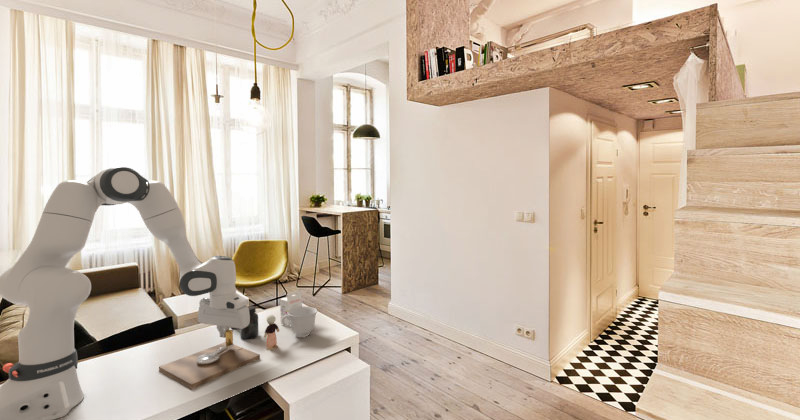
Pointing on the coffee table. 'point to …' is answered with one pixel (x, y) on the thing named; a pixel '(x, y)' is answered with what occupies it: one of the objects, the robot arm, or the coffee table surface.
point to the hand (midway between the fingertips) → (223, 337)
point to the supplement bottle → (250, 326)
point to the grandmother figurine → (271, 333)
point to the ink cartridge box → (290, 304)
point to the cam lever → (214, 356)
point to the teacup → (301, 320)
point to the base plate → (201, 374)
